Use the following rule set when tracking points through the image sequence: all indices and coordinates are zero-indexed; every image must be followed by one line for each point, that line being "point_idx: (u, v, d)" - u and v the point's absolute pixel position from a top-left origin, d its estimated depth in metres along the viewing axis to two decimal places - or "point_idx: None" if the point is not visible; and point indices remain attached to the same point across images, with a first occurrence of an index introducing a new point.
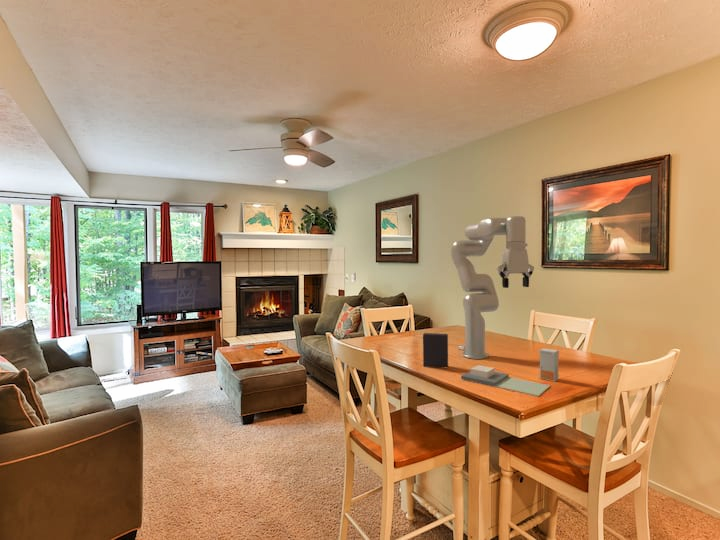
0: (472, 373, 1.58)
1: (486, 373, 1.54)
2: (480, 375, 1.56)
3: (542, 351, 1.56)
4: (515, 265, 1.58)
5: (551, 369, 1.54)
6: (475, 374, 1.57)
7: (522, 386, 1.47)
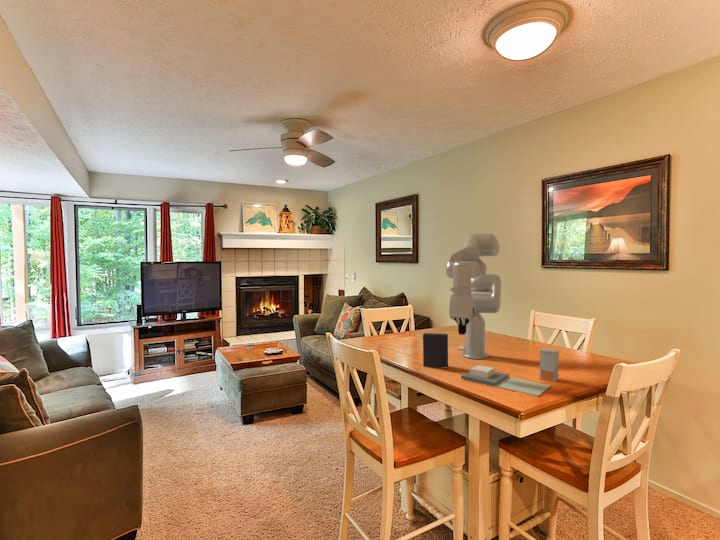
0: (472, 373, 1.58)
1: (486, 373, 1.54)
2: (480, 375, 1.56)
3: (542, 351, 1.56)
4: None
5: (551, 369, 1.54)
6: (475, 374, 1.57)
7: (522, 386, 1.47)
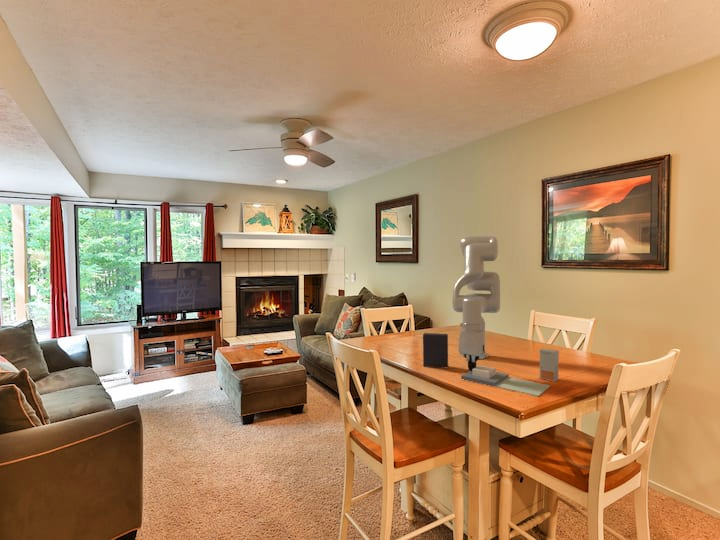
0: (473, 373, 1.58)
1: (488, 373, 1.54)
2: (481, 375, 1.55)
3: (542, 351, 1.56)
4: None
5: (551, 369, 1.54)
6: (476, 374, 1.57)
7: (522, 386, 1.47)
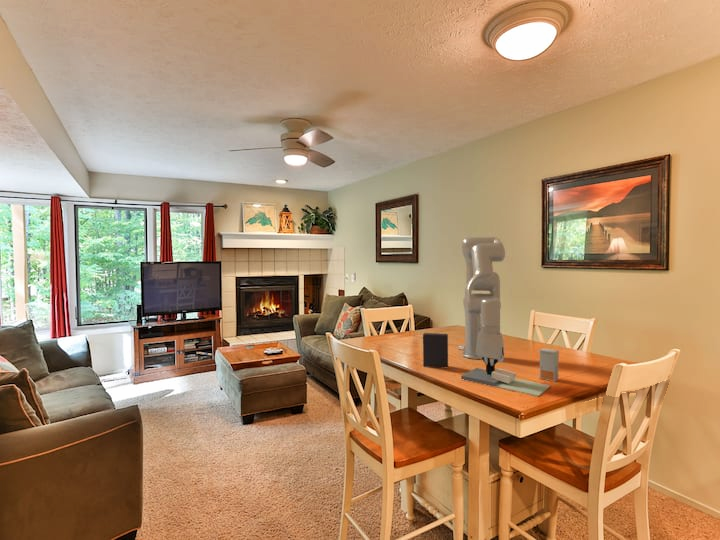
0: (493, 377, 1.52)
1: (508, 378, 1.48)
2: (501, 379, 1.50)
3: (542, 351, 1.56)
4: None
5: (551, 369, 1.54)
6: (496, 378, 1.51)
7: (522, 386, 1.47)
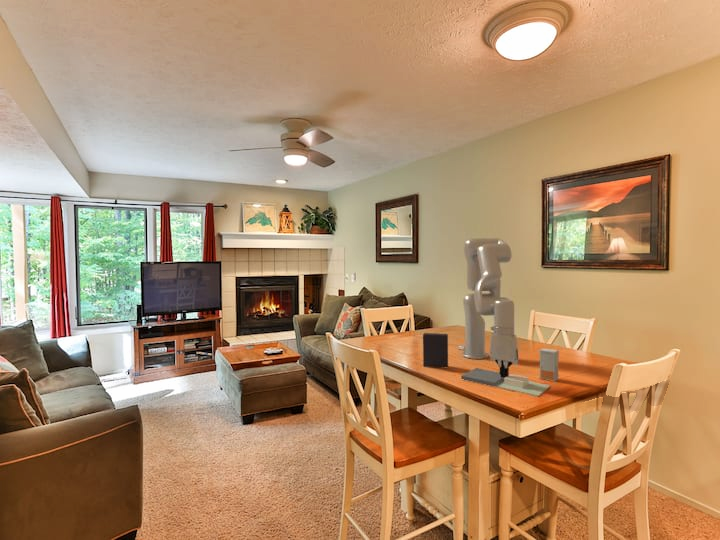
0: (505, 383, 1.49)
1: (521, 383, 1.45)
2: (514, 385, 1.47)
3: (542, 351, 1.56)
4: None
5: (551, 369, 1.54)
6: (509, 384, 1.48)
7: None
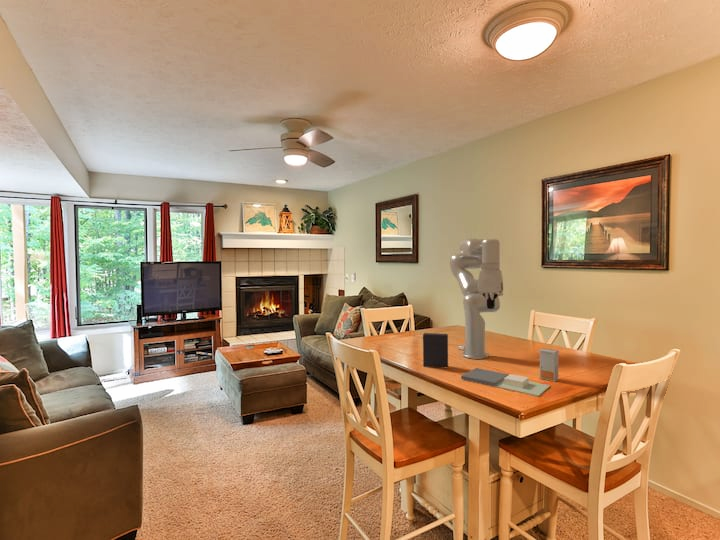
0: (505, 383, 1.49)
1: (521, 383, 1.45)
2: (514, 385, 1.47)
3: (542, 351, 1.56)
4: None
5: (551, 369, 1.54)
6: (509, 384, 1.48)
7: None
